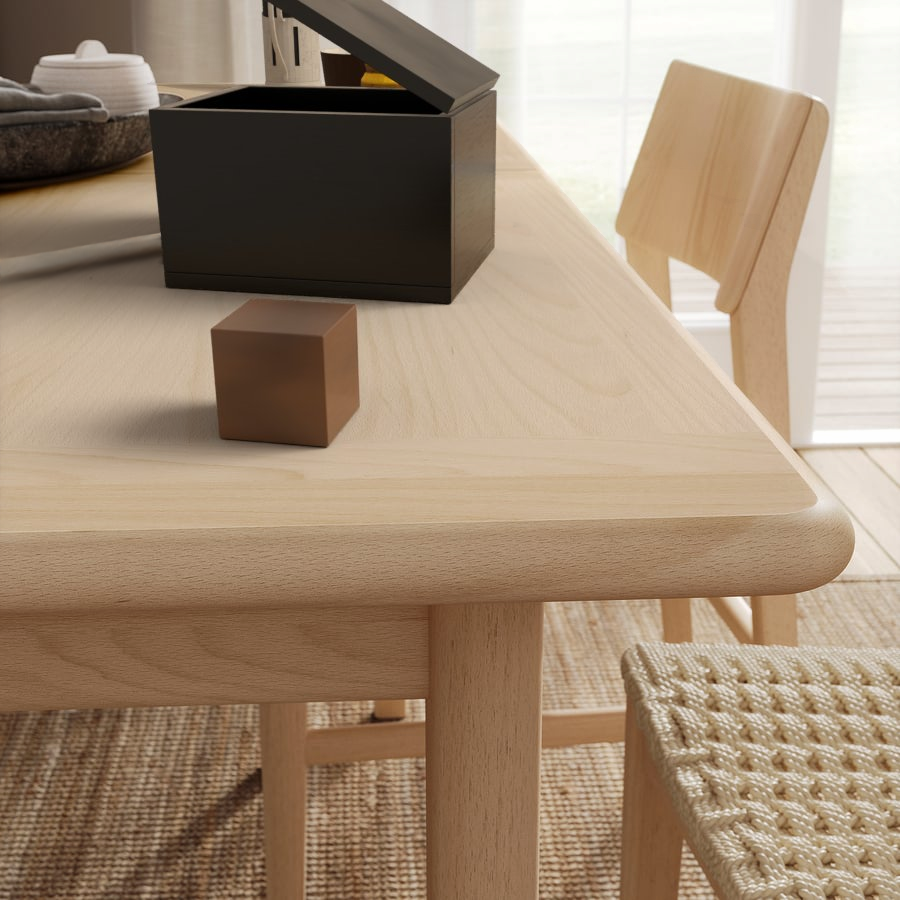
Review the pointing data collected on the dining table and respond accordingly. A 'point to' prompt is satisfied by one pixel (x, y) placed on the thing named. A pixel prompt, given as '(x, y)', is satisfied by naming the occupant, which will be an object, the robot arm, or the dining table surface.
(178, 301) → the dining table surface
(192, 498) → the dining table surface
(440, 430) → the dining table surface
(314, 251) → the dark wooden box
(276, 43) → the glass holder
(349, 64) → the coffee mug
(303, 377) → the block
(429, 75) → the lid
